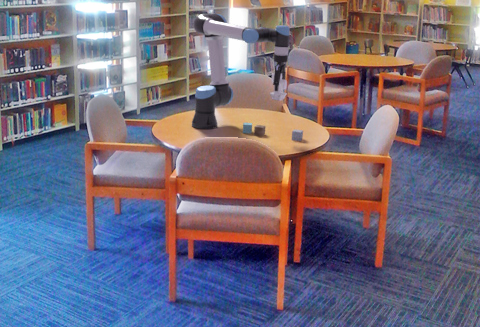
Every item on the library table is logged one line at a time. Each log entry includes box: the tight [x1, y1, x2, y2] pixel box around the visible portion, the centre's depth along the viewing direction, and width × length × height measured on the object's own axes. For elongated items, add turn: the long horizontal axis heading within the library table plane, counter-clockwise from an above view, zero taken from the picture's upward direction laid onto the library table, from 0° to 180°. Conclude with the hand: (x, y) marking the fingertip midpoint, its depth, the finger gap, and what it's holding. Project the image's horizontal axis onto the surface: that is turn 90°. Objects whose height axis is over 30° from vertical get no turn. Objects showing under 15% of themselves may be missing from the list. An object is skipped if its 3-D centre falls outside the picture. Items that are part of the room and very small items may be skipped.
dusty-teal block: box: [242, 122, 253, 134], centre depth 339 cm, size 5×5×5 cm
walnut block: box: [253, 124, 266, 137], centre depth 335 cm, size 5×5×5 cm
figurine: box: [269, 72, 288, 101], centre depth 326 cm, size 7×9×15 cm
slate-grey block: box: [291, 128, 304, 142], centre depth 328 cm, size 5×5×5 cm
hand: (278, 95), depth 328 cm, fingers closed on figurine, 8 cm apart
